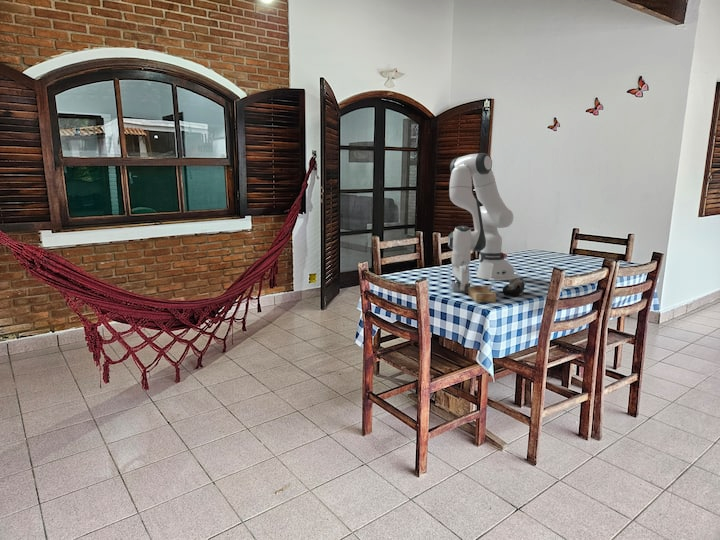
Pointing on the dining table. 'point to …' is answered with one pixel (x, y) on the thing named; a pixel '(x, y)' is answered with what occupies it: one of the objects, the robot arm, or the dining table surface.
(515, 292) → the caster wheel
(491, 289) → the bushing
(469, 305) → the dining table surface
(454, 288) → the housing
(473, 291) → the stand
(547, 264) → the dining table surface
